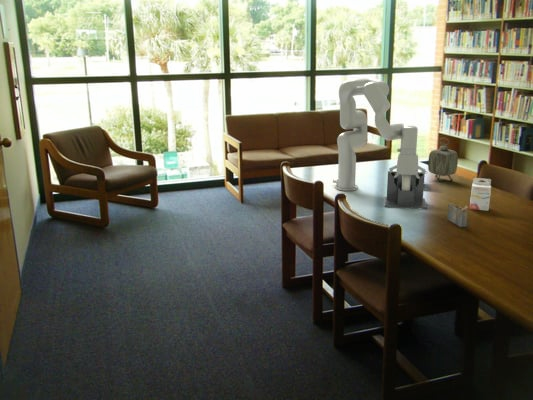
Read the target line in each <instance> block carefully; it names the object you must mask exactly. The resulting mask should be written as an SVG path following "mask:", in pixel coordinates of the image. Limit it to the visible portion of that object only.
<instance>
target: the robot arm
mask: <svg viewBox="0 0 533 400" xmlns="http://www.w3.org/2000/svg"><path fill="white" fill-rule="evenodd" d="M389 94H390V87H389V84H388V83H387V82H386V81H383V80H378V79H373V78H364V77H363V78H352V79H347V80H345V81H343V82H342V83H341V84H340V85H339V90H338V97H339V99H338V100H339V125H340V127H341V128H342V129H344V130H349V131H344V132H342V133H340V134H339V135H338V137H337V138H336V142H337V149H338V171H337V172H338V173H337V175H338V176H337V178H333V180H332V183H334V184H335V183H336V184H335V187H334V188H335V189H336V190H339V191H345V192H346V191H348V192H349V191H352V192H353V191H356V190H358V188H359V186H358V184H356V173H357V172H356V171H357V165H356V164H357V156H356V153H355V150H354V149H358V148H361V147H364V146H365V145H366V144H367V142H368V117H367V115H366V113H365V111H363V110H358V109H357V104H356V100H355V98H354V97H355V96H364V98H366V100H367V102H368V104H369V105H370V107H371V109H372V110H373V112H374V115H375V116H374V125H375V128H376V130H377V131H378V132H379V135H380V136H381V137H382V138H383V140H386V141H388V142H389V141H395V140H400V148H397V151H396V152H397V153H398V155H397V160H396V165H393V166H391V167H389V168H388V171H390V173H391V174H392V175H393V176H394V184H395V185H396V186H397V176H398V175H415V176H416V182H415V186H416V187H417V185H419V178H420V177H421V176H423V174H424V172H425V171H426V169H425V167H424V168H423V167H422V166H419V156H418V154H417V147H418V127H417V126H415V125H407V124H405V123H393V124H390V123H389V122H388V120H387V117H386V112H387V111H388V110H389V109H390V108H391V103H390V101H389V99H388V98H387V96H388V95H389ZM394 170H396V171H397V172H396V173H394V172H393V171H394ZM419 171H420V172H421V171H422V172H421V173H420V174H419V175H418V172H419ZM426 172H427V171H426Z"/></svg>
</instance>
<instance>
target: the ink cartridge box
mask: <svg viewBox="0 0 533 400" xmlns="http://www.w3.org/2000/svg"><path fill="white" fill-rule="evenodd" d="M491 184H492V179H490V178H482V177H474V178H473V179H472V185H471V192H470V200H469V209H470V210H475V211H477V210H478V211H487V212H488V211H489V210H490V203H491V202H490V201H491V192H492V185H491Z"/></svg>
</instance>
